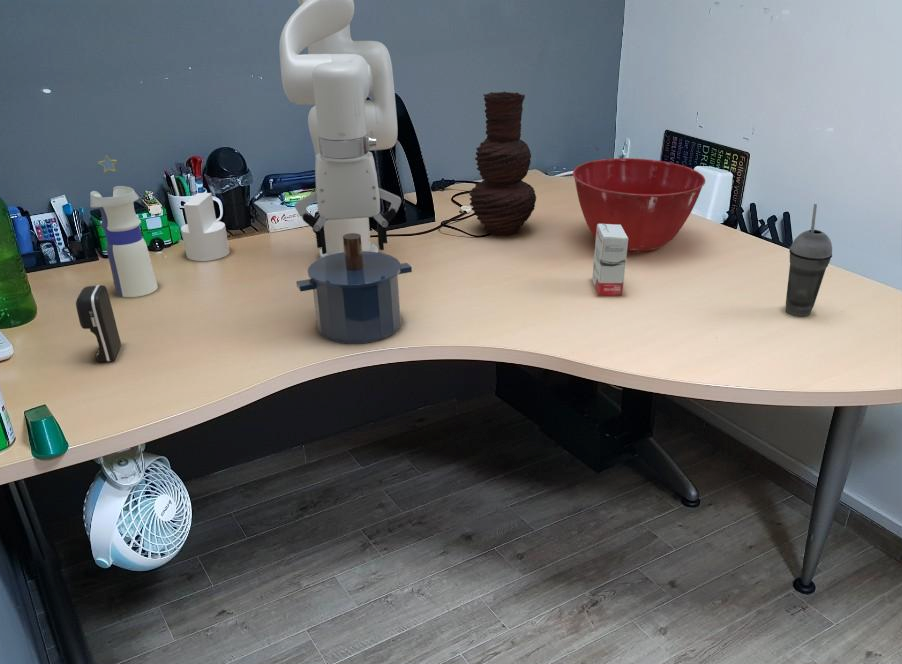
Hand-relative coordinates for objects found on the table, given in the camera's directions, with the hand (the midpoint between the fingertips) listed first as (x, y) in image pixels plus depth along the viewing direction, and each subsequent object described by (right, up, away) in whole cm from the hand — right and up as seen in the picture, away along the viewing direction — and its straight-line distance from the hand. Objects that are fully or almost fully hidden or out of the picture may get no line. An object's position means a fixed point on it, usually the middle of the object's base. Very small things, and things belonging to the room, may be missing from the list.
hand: (352, 249), depth 136 cm
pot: (0, -12, +7) cm, 14 cm away
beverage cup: (+81, -9, +12) cm, 82 cm away
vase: (+26, +14, +52) cm, 60 cm away
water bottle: (-46, -4, +20) cm, 51 cm away
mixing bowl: (+55, +10, +45) cm, 72 cm away
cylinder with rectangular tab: (-38, +6, +38) cm, 54 cm away
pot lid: (0, -3, +1) cm, 4 cm away
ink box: (+47, -4, +22) cm, 52 cm away
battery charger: (-40, -18, -3) cm, 44 cm away
